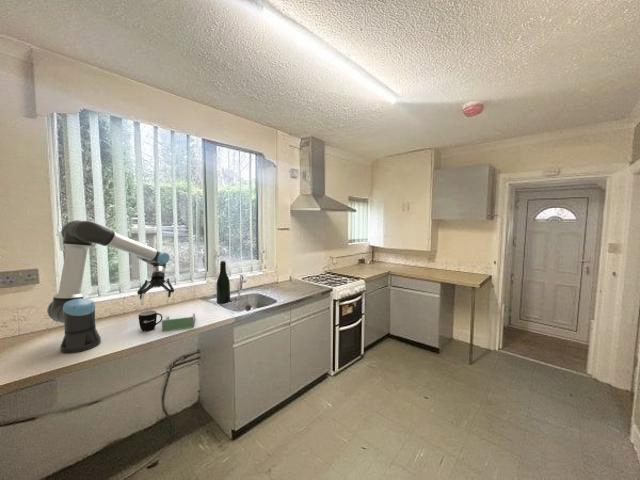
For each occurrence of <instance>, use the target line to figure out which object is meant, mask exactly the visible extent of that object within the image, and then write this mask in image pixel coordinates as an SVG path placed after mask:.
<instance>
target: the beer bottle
mask: <svg viewBox="0 0 640 480" xmlns="http://www.w3.org/2000/svg"><path fill="white" fill-rule="evenodd" d="M226 266H227V263H226V261H225V260H220V262H219V275H218V277H217V279H216V290H215V291H216V293H215V295H216V303H218V304H226V303H229V302H230V301H231V283H230V278H229V276H228V273H227V267H226Z"/></svg>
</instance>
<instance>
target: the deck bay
mask: <svg viewBox="0 0 640 480" xmlns="http://www.w3.org/2000/svg"><path fill="white" fill-rule="evenodd" d="M195 320H196V313H192V316H187V317H186V316H185V317H179V318H170V316H169V315H168V316H166V317H165V319H162V321H161V331H162V332H166V331H174V330H182V329H183V330H184V329H190V328H194V326H195Z"/></svg>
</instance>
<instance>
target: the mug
mask: <svg viewBox="0 0 640 480" xmlns="http://www.w3.org/2000/svg"><path fill="white" fill-rule="evenodd" d="M158 315H159V316H160V320H159V321H157V316H158ZM137 317H138V324H139V327H140V328H139V329H140V330H141V332H150V331H153V330H155V327H156V325H158V324H160V323H162V320H163V315H162V314H161V313H158V312H157V310H153V309H151V310H143V311H141V312H139V313H138V315H137Z"/></svg>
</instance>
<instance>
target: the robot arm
mask: <svg viewBox="0 0 640 480" xmlns="http://www.w3.org/2000/svg"><path fill="white" fill-rule="evenodd" d="M60 233H61V237H62V238H63V242H62V245H63V246H64V247H65V252H64V253H65V254H64V258H63V264H62V270H61V275H60V281H59V282H60V283H59V286H58V287H59V288H58V293H56V294H55V295H53V298H52V301H51V302H50V303H49V304H48V306H47V308H46V309H47V310H46V313H47V316H48V317H49V318H51V320H53V321H54V322H56V323H58V322H59V323H61V324H63V326H64V327H63V329H64V336H63V337H62V338H63V339H62V342H61V344H60V352H61V353H63V354H73V353H74V354H75V353H80V352H85V351H87V350H91V349H93V348H95V347H97V346H99V345H100V344H101V342H102V341H101V340H102V339H101V336H100V333H99V332H98V330H97V327H96V325H97V324H96V305H95V301H94V300H93V299H90V298H84V295H83V294H82V293H81V291H82V284H83V279H84V275H85V274H84V273H85V267H86V262H87V257H88V256H87V255H88V250H89V249H90V248H92V247H93V244H97V245H100V246H104V247H106V246H109V247H112V248H115V249H116V250H117V249H118V250H120V251H123V252H125V253H129V254H131V255H135V256H136V257H137V259H139V260H140V261H143V262H145V263H146V264H149V265H151V266H152V270H151V271H152V272H151V277H150V280H147V279H146V280H145V281H144V283H143V284H142V285H141V287H140V288H139V289H138V290H137V292H136V293H137V295H138V296H139V300H140V304H141V305H142V306H143V305H144V300H145V296H146V295H145V294H146V293H147V292H148V291H150V290H151V289H153V288H163V289H164V290H165V291H166V299H165V302H166V303H169V299H170V297H171V295H172V293H174V292H175V289H174V287H173V285H172V283H171V281H170V279H169V278H167V279H165V277H166V267H167V263H168V262H169V260H170V259H171V258H170V257H171V256H170V254H169V253H167V252H165V251H161V250H158V249H156V248H153V247H150V246H148V245H146V244H143V243H141V242H138V241H136V240H134V239H131V238H130V237H126V236H123V235H121V234H119V233H116V231H115V230H114V229H111V228H110V227H107V226H106V225H103V224H101V223H98V222H96V221H92V220H72V221H69V222H66V223H65V224H64V225H63V226H62V227H61V231H60ZM165 283H166V284H167V285H168V286H167V285H165Z"/></svg>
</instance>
